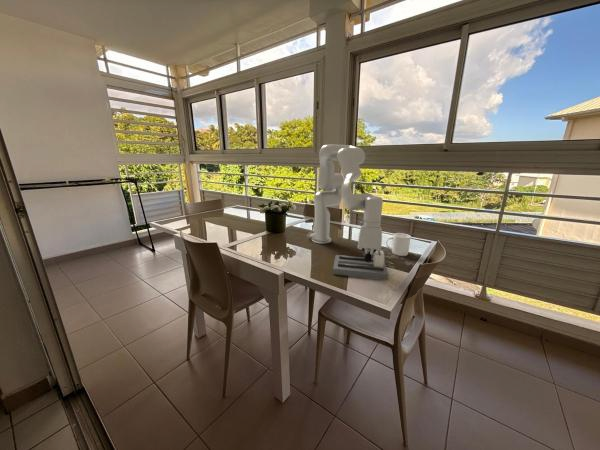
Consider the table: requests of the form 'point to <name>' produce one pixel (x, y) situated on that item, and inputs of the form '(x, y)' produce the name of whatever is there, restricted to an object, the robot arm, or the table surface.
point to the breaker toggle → (378, 259)
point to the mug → (400, 244)
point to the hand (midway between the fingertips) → (367, 260)
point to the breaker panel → (358, 267)
